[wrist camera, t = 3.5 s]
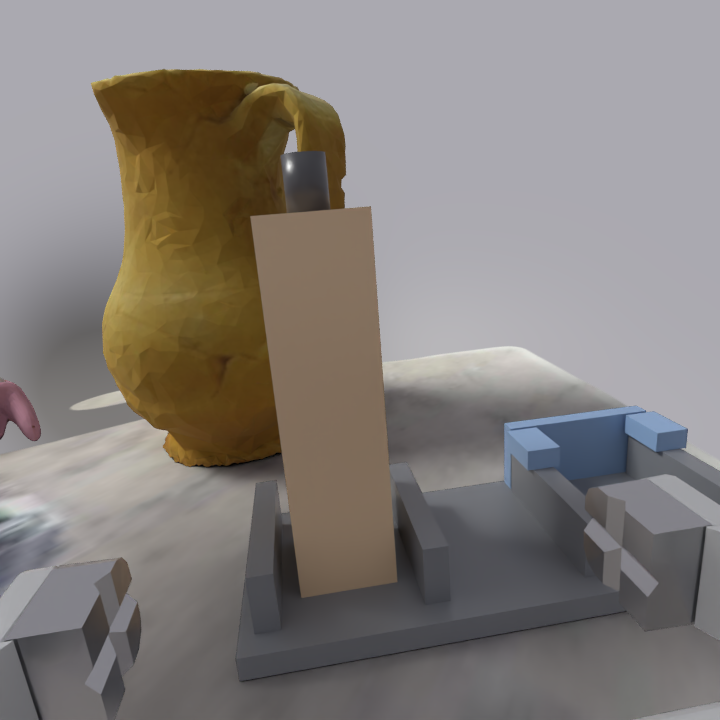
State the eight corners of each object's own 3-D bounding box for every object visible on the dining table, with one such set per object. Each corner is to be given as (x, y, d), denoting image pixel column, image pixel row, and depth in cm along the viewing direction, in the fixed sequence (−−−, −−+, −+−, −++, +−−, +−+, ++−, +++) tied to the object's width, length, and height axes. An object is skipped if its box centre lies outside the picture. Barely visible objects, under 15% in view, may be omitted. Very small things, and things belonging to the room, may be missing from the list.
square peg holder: (239, 681, 18) (220, 576, 17) (254, 534, 27) (242, 457, 26) (785, 582, 21) (803, 483, 20) (639, 476, 29) (645, 403, 28)
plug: (301, 598, 21) (241, 150, 16) (298, 539, 24) (250, 164, 20) (397, 581, 21) (366, 142, 16) (380, 526, 25) (351, 157, 20)
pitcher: (307, 376, 52) (272, 105, 44) (399, 453, 36) (372, 48, 28) (127, 420, 45) (46, 111, 37) (141, 539, 29) (4, 39, 21)
